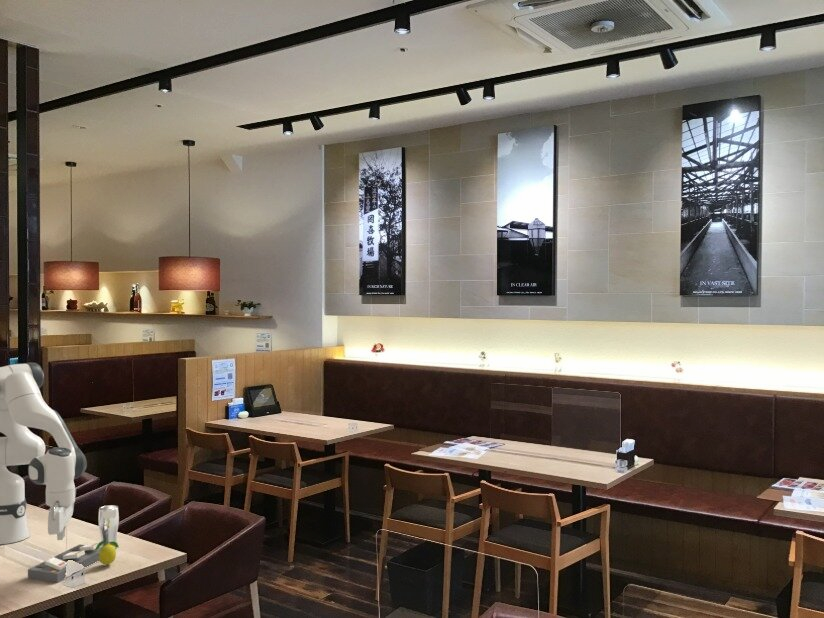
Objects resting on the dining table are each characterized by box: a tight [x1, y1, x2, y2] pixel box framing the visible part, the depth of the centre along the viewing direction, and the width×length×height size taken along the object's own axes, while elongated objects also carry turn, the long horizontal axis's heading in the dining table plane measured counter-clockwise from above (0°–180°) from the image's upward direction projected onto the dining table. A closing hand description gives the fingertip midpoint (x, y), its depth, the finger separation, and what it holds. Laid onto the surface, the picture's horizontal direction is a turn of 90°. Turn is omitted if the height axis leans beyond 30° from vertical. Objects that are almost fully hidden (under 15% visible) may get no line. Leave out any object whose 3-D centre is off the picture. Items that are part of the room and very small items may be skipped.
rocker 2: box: [63, 551, 85, 560], centre depth 254 cm, size 6×4×1 cm, turn 73°
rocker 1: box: [45, 556, 68, 570], centre depth 246 cm, size 6×4×1 cm, turn 74°
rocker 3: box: [80, 542, 100, 551], centre depth 262 cm, size 6×4×1 cm, turn 73°
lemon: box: [95, 537, 119, 566], centre depth 256 cm, size 7×6×10 cm
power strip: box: [27, 544, 102, 584], centre depth 255 cm, size 12×24×3 cm, turn 163°
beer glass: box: [97, 504, 120, 550], centre depth 272 cm, size 7×7×15 cm
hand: (61, 538), depth 245 cm, fingers closed
